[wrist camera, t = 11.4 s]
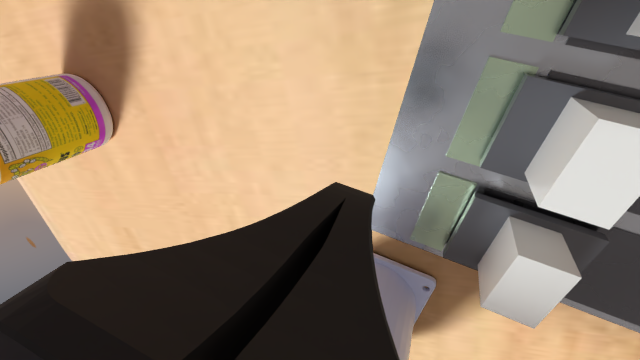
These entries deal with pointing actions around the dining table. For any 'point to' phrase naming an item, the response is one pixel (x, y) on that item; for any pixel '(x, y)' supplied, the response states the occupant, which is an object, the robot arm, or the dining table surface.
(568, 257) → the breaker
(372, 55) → the dining table surface
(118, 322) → the robot arm
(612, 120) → the breaker mid
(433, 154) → the panel
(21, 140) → the supplement bottle
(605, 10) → the block
